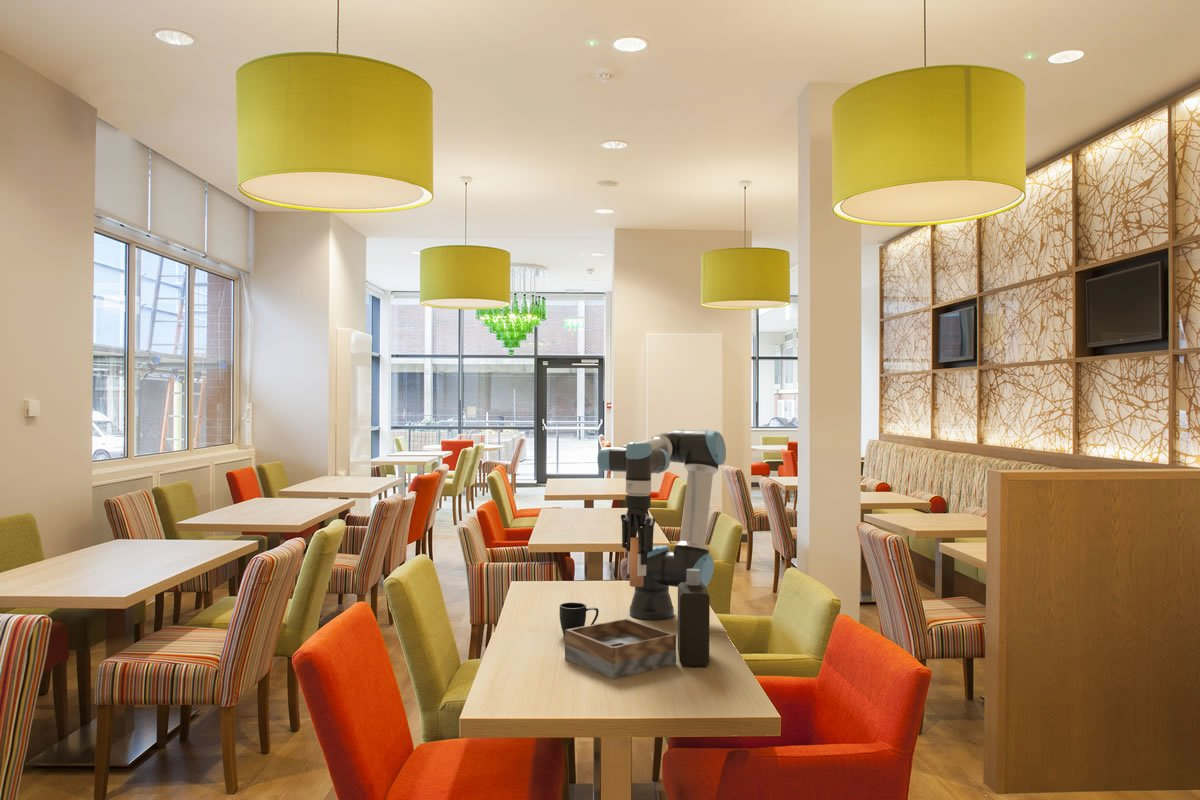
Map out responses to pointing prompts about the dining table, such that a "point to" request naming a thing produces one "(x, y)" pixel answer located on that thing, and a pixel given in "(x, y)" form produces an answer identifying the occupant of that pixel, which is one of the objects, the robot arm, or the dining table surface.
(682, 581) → the robot arm
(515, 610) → the dining table surface
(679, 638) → the bottle
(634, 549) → the peg
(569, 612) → the mug
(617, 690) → the dining table surface
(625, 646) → the crate
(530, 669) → the dining table surface
